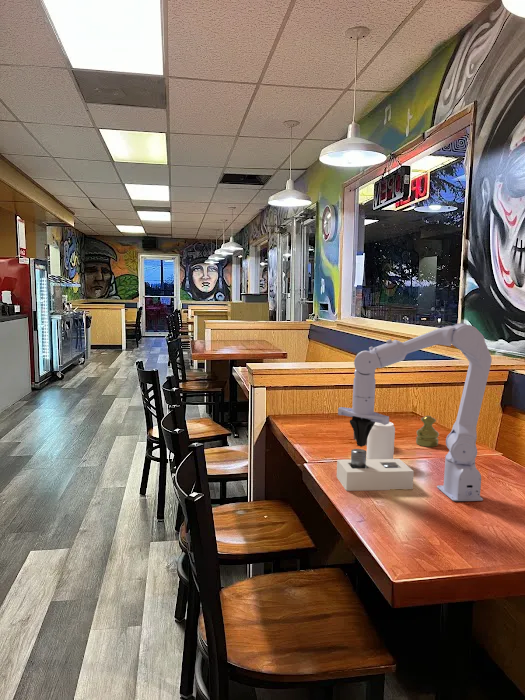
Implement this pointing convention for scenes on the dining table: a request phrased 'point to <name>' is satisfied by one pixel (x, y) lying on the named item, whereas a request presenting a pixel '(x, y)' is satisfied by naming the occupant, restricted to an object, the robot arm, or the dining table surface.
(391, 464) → the peg
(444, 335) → the robot arm
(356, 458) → the peg
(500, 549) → the dining table surface
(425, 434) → the olive green tiered piece
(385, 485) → the bore block
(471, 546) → the dining table surface
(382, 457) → the beverage can
